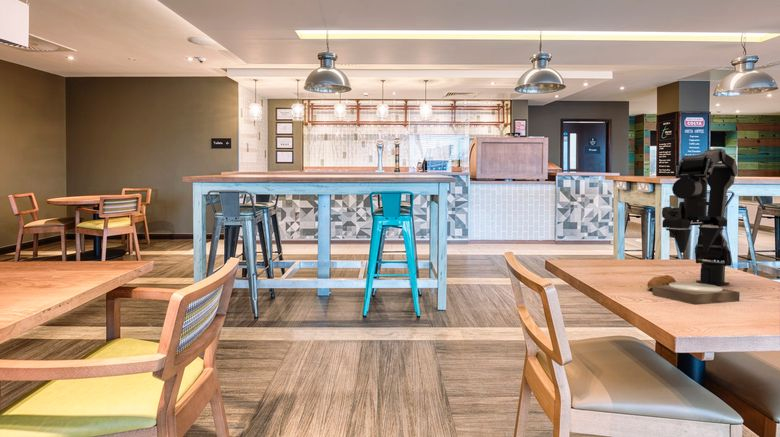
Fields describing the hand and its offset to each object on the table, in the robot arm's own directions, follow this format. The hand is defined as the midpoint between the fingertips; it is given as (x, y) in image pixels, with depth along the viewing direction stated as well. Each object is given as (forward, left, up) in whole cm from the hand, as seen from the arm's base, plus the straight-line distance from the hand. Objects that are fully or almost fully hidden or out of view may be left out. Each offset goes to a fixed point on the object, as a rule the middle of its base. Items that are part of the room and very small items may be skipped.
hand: (694, 251), depth 138 cm
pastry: (+8, -8, -13) cm, 17 cm away
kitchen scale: (+6, +6, -12) cm, 15 cm away
